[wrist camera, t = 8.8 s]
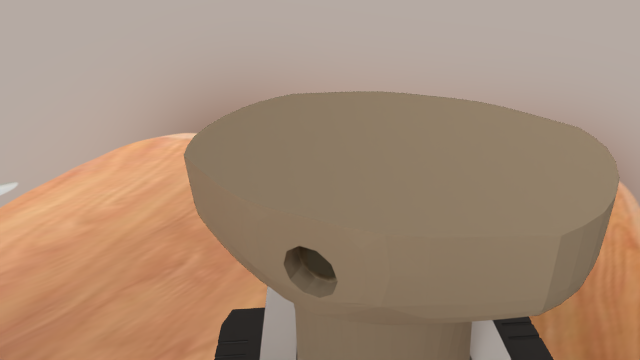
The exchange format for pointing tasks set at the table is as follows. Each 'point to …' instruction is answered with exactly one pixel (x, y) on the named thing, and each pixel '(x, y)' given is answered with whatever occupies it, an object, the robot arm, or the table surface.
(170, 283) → the table surface
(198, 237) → the table surface
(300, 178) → the handle
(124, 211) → the table surface
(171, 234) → the table surface
